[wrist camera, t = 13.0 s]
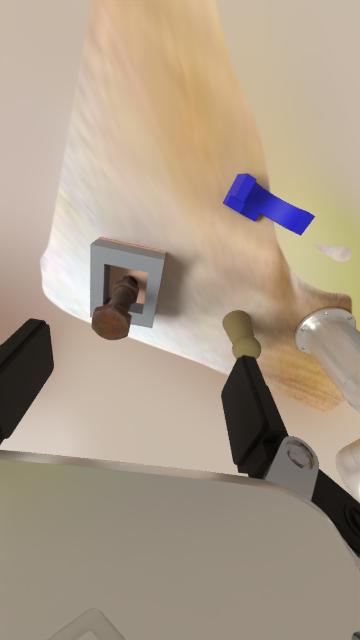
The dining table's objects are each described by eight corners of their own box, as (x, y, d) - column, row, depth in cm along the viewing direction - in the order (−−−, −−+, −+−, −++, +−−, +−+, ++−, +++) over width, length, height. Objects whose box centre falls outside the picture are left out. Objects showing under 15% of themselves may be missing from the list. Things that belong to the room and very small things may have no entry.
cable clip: (222, 202, 37) (229, 207, 32) (237, 174, 35) (247, 173, 30) (279, 236, 40) (294, 244, 35) (297, 211, 38) (315, 216, 33)
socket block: (166, 251, 41) (164, 260, 37) (154, 314, 49) (152, 327, 45) (100, 237, 40) (90, 244, 36) (98, 304, 47) (90, 317, 43)
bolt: (121, 296, 45) (98, 343, 33) (111, 273, 43) (82, 315, 30) (148, 290, 45) (136, 335, 32) (140, 266, 42) (123, 305, 29)
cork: (254, 324, 50) (271, 358, 41) (231, 337, 52) (242, 372, 43) (241, 305, 48) (256, 336, 38) (217, 319, 50) (225, 352, 40)
